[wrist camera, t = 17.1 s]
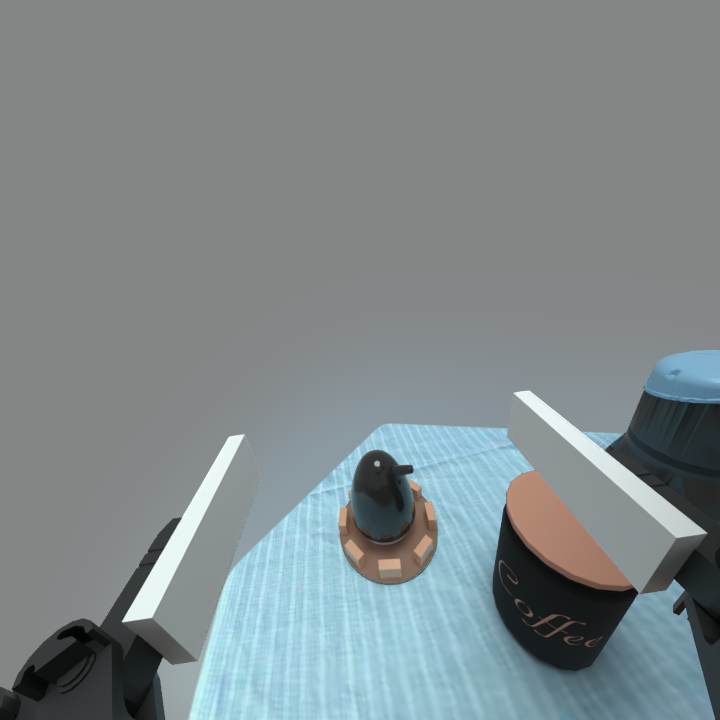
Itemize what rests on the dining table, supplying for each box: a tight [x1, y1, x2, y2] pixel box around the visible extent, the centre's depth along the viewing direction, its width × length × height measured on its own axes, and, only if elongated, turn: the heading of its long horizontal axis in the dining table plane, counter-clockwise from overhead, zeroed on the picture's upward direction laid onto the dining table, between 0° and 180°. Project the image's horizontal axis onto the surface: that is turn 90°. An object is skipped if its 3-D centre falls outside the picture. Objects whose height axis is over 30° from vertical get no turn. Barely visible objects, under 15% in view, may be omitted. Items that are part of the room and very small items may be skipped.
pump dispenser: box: [351, 450, 416, 545], centre depth 39 cm, size 10×10×15 cm
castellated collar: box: [339, 478, 438, 585], centre depth 42 cm, size 16×16×3 cm
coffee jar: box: [493, 470, 639, 671], centre depth 28 cm, size 11×11×18 cm
